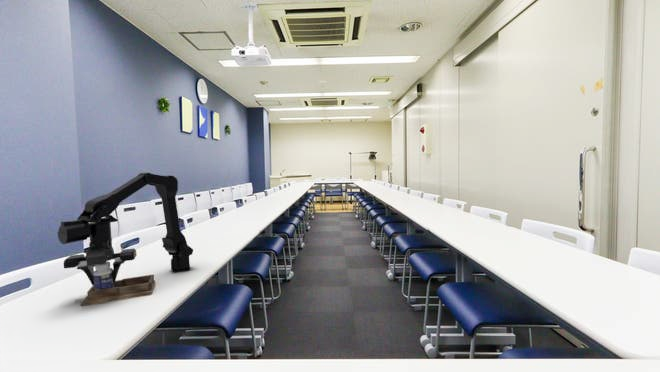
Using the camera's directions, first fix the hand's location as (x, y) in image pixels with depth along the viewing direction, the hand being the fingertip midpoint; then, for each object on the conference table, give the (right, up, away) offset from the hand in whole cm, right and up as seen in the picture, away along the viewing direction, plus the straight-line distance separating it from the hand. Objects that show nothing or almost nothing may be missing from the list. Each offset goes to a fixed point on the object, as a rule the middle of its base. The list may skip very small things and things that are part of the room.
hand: (103, 283), depth 101 cm
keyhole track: (+4, -4, +2) cm, 6 cm away
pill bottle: (0, -3, 0) cm, 3 cm away
